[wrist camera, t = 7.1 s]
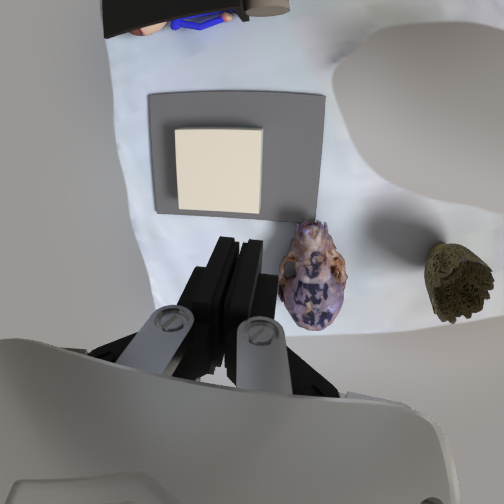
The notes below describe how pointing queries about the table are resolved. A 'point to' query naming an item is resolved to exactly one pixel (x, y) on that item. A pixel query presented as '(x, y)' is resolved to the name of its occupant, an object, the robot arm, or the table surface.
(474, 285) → the cup
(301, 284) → the skull
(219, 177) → the tile
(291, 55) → the table surface
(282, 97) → the mat
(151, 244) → the table surface
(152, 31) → the figurine character
